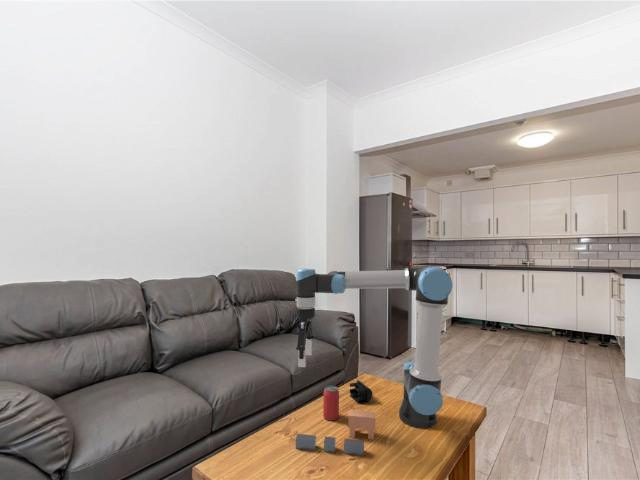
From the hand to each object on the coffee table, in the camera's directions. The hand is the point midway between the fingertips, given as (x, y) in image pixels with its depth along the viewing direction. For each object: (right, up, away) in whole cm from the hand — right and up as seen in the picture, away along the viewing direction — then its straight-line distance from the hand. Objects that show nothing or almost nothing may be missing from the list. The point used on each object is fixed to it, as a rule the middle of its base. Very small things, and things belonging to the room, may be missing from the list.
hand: (305, 360), depth 131 cm
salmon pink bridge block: (+22, -26, -6) cm, 35 cm away
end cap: (+25, -27, +24) cm, 44 cm away
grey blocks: (+9, -26, -15) cm, 31 cm away
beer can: (+11, -26, +7) cm, 29 cm away
